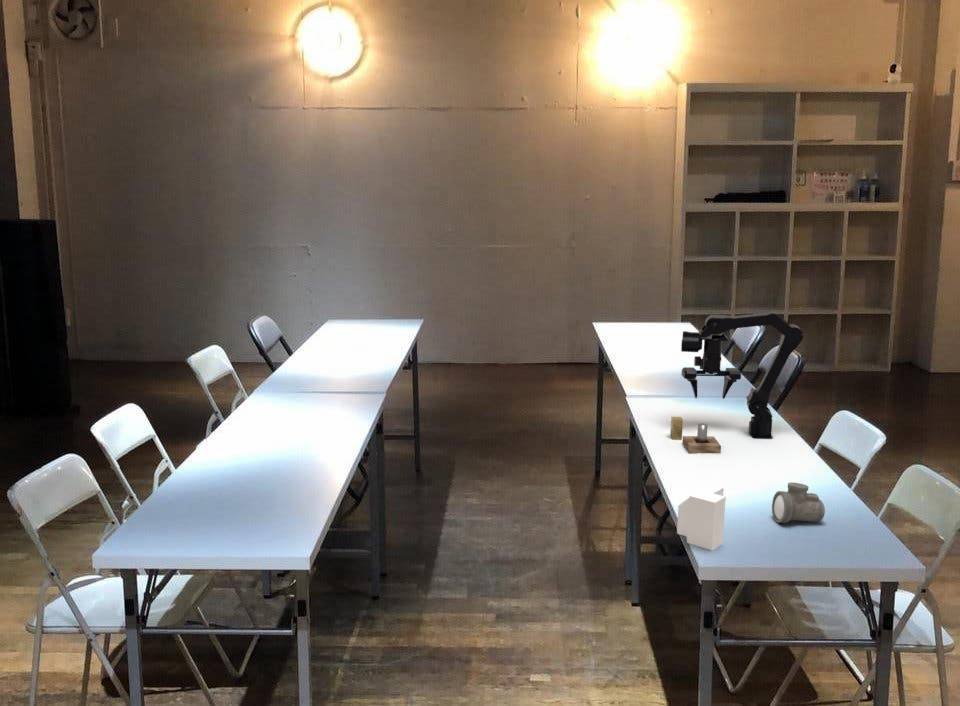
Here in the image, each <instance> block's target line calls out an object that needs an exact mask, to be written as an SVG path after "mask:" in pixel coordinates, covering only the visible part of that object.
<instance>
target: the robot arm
mask: <svg viewBox="0 0 960 706" xmlns="http://www.w3.org/2000/svg"><path fill="white" fill-rule="evenodd" d="M762 326H772V327H773V328H774V329H776V330H777V331H778V332H779V333H780V334H781V336H780V339H779V342H778V344H779V345H778V348H777V350H776V352H775V355H774V356H773V358H772V360H771V362H770V363H769V366H768V368H767V370H766V371H765V374H764V376H763V377H762V379H761V382H760V384H759V385H758V386H757V387H756V388H753V387H751V388H750V391H749V394H748V395H747V396H746V397H745V399H746V405H747V409H748V411H749V413H750V414H751V415H753V416H751V417H750V420H749V422H748V434H749V435H750V436H751V437H752V438H753V439H773V435H772V431H773V430H772V429H773V428H772V427H773V414H772V411H771V409H770V408H769V407H768V404H769V402H770V396H771V392H772V390H773V388H774V386H775V385H776V382H777V380H778V378H779V376H780V374H781V372H782V371H783V369H784V367H785V365H786V363H787V361H788V360H789V357H790V356H791V354H792V353H793V352H794V351H795V350H796V349H797V348H798V347H799V345H800V344H801V343H802V341H803V339H804V332H803V331H802V329H801V328H800V327H799V325H796V324H794V323H789V322H788V321H787V320H785V319H784V318H783V317H781V316H780V315H778V313H776V312H775V311H769V312H760V313H754V314H753V313H752V314H750V313H749V314H742V315H727V314H710V315H708V316H707V317H706V319H705V322H704V325H703V326H702V327H701V328H700V329H699V330H698V331H697V332H696V331H695V332H694V331H691V332H690V331H685V330H683V331H682V337H681V345H680V347H681V348H680V351H681V352H683V353H684V352H685V353H699V351H701V350H702V349H703V354H702V357H701V356H700V355H699V356H694V360H693V362H694V364H693V366H695V367H699V369H698V370H696V368H695V367H690V366H687V367H683V368H681V376H682V378H684V379H685V380H686V381H688V382H689V383H690V385H691V388H692V391H693V396H694V398H695V399H698V379H697V376H698V377H723V382H724V383H723V389H722V399H723V400H724V399H725V398H726V397H727V394H728V392H729V390H730V389H731V388H732V385H733V384H734V383H736V382H737V380H742V379H741V378H742V371H740V370H739V369H738V368H736V367H726V368H725V370H721V364H722V363H721V362H722V346H723V341H724V342H727V341H729V338H728V336H727V335H726V334H725V332H729V331H731V330H735V329H741V328H742V329H743V328H752V327H762ZM703 341H704V342H703ZM703 343H704V344H703Z"/></svg>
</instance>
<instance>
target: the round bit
mask: <svg viewBox="0 0 960 706" xmlns="http://www.w3.org/2000/svg"><path fill="white" fill-rule="evenodd" d="M708 427H709V425H708V423H701V422H700V423H697V435H696V436H697V443H707V436H708Z"/></svg>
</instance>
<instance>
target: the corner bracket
mask: <svg viewBox="0 0 960 706" xmlns="http://www.w3.org/2000/svg"><path fill="white" fill-rule="evenodd" d="M726 500H727V497H726V496H724V487H722V486H718V485H714V484H709V485H707V486H705V487H703V488H702V489H700V490H698V491H696V492H694V493H692V494H690V495H689V497H688V498H687V499H685V500H684V501H683V502H681V503H679V505H677V506H678V508H677V510H678V511H677V524H676V526H677V527H676V534H677V535H681V536H683V537H687V538H686V543H687V544H689V545H693V546H696V547H699V548H700V547H701V548H703V549H705V550H710V551H714V550H715V549H717V548H718V547H720V546H721V545H723V544H724V529H725V528H724V527H725V513H726Z"/></svg>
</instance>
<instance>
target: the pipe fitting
mask: <svg viewBox="0 0 960 706" xmlns="http://www.w3.org/2000/svg"><path fill="white" fill-rule="evenodd" d="M809 488H810V487H809V486H808V485H806V484H803V483H799V482H791V481H790V482H787V491H785V490H784V491H783V490H782V491H781V490H778V491H776V492H775V494H774V496H773V498H772V503H771V513H772V518H773V520H774V522H776V523H777V524H787V523H789V522H790V521H791V520H792V521H800V522H801V521H802V522H811V523H820V522H821V521H822V520H823V519H824V517H825V514H826V509H825V505H824V503H823V501H822V500H821V499H819V498H820V497H819V495H818V494H817V493H813V492H809Z"/></svg>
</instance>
